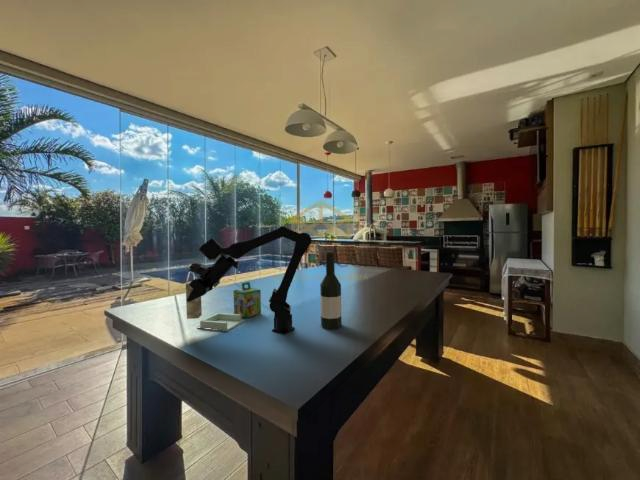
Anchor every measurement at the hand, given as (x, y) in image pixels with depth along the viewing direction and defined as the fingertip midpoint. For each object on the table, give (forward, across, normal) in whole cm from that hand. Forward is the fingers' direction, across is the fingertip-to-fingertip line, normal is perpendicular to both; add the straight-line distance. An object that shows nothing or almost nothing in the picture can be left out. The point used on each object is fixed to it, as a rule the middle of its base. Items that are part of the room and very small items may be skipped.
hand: (190, 299), depth 103 cm
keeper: (+4, -10, +15) cm, 19 cm away
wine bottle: (-28, -2, +47) cm, 55 cm away
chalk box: (-2, -24, +22) cm, 32 cm away
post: (+4, 0, +6) cm, 7 cm away
